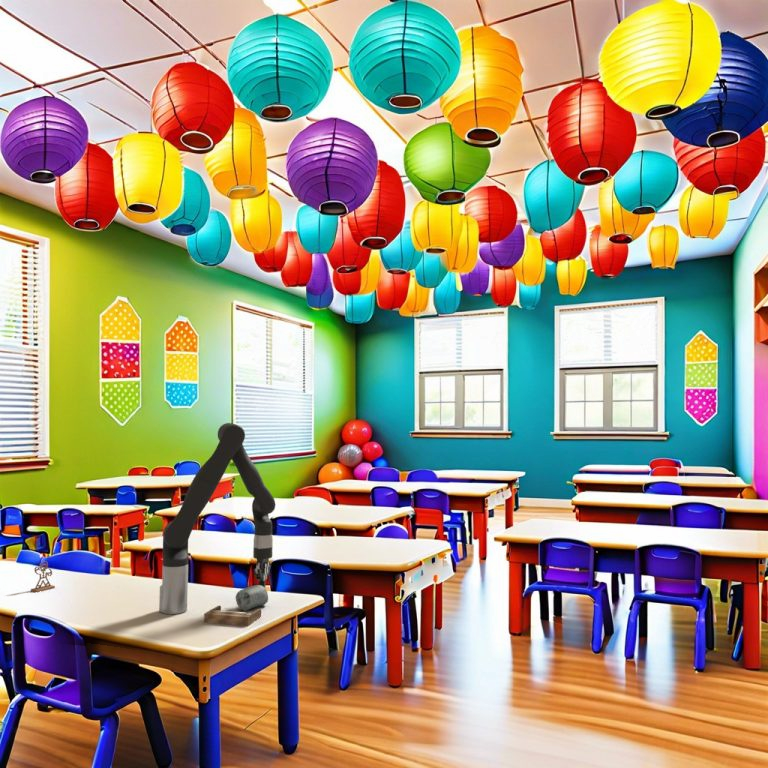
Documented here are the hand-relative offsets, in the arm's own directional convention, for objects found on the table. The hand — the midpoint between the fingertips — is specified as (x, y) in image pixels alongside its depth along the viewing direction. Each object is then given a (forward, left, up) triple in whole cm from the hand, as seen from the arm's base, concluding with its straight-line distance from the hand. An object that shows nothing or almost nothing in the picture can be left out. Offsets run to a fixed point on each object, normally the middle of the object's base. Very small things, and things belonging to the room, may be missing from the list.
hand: (262, 589), depth 272 cm
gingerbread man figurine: (-96, -7, -5) cm, 96 cm away
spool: (0, -10, -5) cm, 11 cm away
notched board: (0, -26, -4) cm, 27 cm away
